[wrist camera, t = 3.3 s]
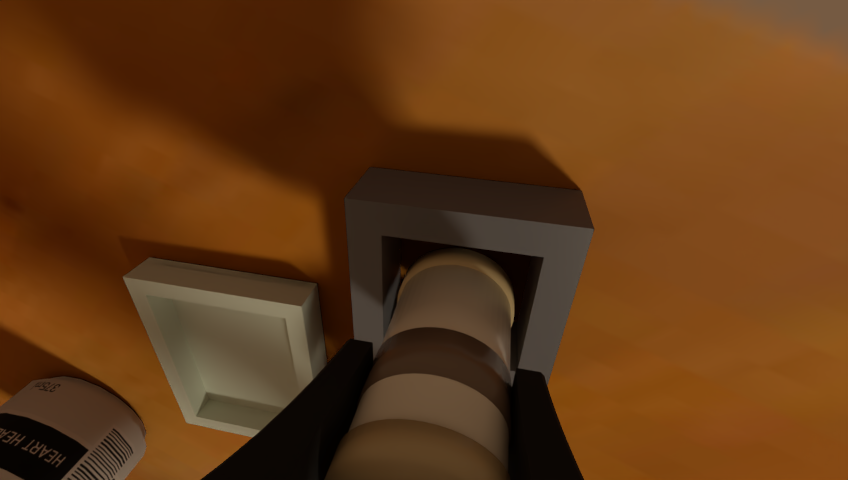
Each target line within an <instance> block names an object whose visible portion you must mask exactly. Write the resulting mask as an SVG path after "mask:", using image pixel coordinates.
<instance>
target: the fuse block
mask: <svg viewBox="0 0 848 480" xmlns="http://www.w3.org/2000/svg"><path fill="white" fill-rule="evenodd" d="M344 202H345V216H346V230H347V244H348V258H349V272H350V286H351V300H352V314H353V328H354V339H355V340H361V341H367V342H372V343H373V361H374V358H375V355H376V353H377V351H378V349H379V348H380V347H381V345H382V343H383V340H384V337H385V335H386V332H387V330H388V327H389V324H390V322H391V319H392V317H393V314H394V311H395V309H396V306H397V299H398V293H399V290H400V251H401V238H405V239H412V240H419V241H427V242H434V243H442V244H449V245H456V246H464V247H471V248H478V249H486V250H493V251H501V252H508V253H515V254H523V255H530V256H531V260H530V265H529V270H528V274H527V279H526V284H525V288H524V293H523V298H522V302H521V307H520V312H519V316H518V321H517V322H513V324H512V327H511V346H510V377H511V383H512V384H513V380H514V376H515V371H516V368H520V369H526V370H532V371H538V372H541V373H542V374H543V375H544V376H545V380H546V384H547V385H548V381H549V378H550V375H551V371H552V368H553V365H554V361H555V358H556V355H557V351H558V348H559V345H560V341H561V338H562V335H563V331H564V328H565V325H566V321H567V318H568V315H569V311H570V308H571V305H572V301H573V298H574V295H575V291H576V288H577V285H578V281H579V278H580V275H581V271H582V268H583V265H584V261H585V258H586V255H587V251H588V248H589V245H590V241H591V238H592V235H593V231H594V227H593V224H592V221H591V218H590V215H589V212H588V208H587V205H586V202H585V199H584V196H583V193H582V191H581V190H572V189H563V188H554V187H545V186H536V185H527V184H518V183H509V182H500V181H491V180H482V179H473V178H464V177H455V176H446V175H437V174H428V173H419V172H410V171H401V170H392V169H383V168H374V167H370V168H369V169H368V170H367V171H366V173H365V174H364V175H363V176H362V177H361V179H360V180H359V181H358V182H357V183H356V185H355V186H354V187H353V188H352V189H351V191H350V192H349V193H348V194H347V195H346V197H345V198H344Z"/></svg>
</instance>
